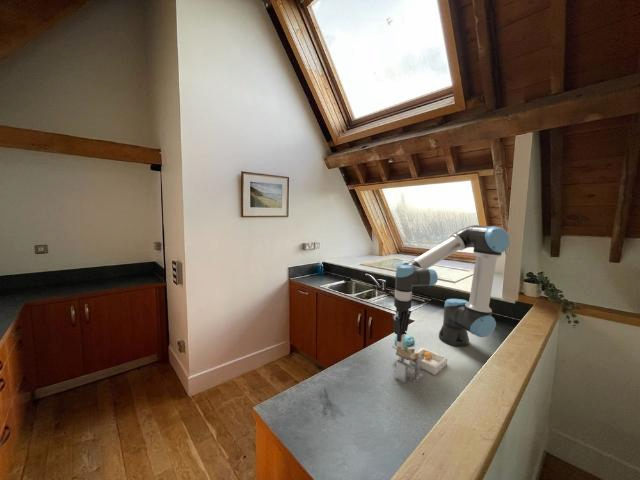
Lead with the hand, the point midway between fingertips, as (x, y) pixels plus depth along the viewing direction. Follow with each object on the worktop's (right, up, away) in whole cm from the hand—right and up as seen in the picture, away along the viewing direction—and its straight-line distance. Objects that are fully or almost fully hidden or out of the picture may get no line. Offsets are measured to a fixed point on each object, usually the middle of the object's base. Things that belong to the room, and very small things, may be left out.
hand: (399, 346), depth 124 cm
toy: (+7, -6, +18) cm, 20 cm away
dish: (+13, -8, -1) cm, 15 cm away
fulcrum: (0, -8, -10) cm, 13 cm away
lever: (-1, 0, -6) cm, 7 cm away
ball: (+14, -5, +2) cm, 15 cm away
